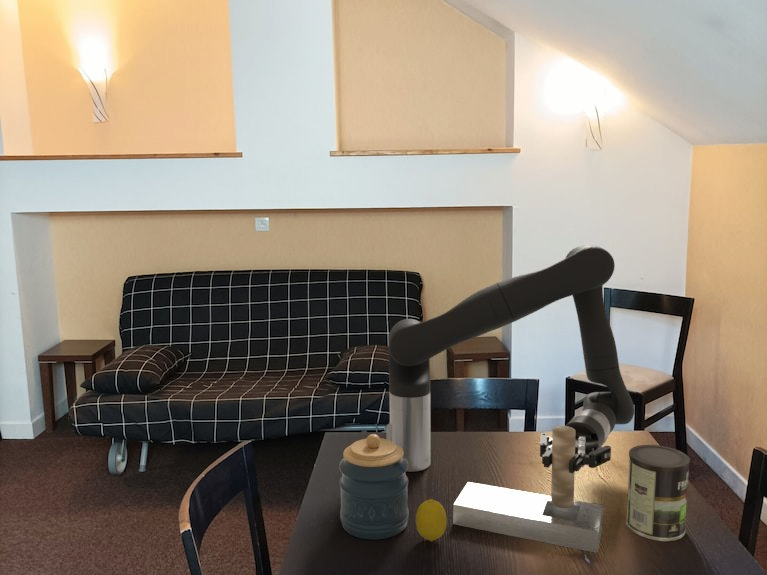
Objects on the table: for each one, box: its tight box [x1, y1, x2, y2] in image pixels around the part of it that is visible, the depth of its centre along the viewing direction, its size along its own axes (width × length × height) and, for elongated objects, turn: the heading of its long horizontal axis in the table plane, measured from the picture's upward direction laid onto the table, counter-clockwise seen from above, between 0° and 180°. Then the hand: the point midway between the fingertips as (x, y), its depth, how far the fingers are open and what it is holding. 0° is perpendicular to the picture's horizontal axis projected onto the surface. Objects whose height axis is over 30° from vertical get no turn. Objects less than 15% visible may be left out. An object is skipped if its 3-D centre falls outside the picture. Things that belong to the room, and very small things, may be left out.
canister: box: [338, 433, 410, 541], centre depth 123 cm, size 13×13×18 cm
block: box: [452, 481, 605, 554], centre depth 122 cm, size 26×10×4 cm, turn 67°
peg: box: [550, 425, 576, 508], centre depth 118 cm, size 4×4×14 cm
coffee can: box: [625, 444, 691, 542], centre depth 120 cm, size 10×10×14 cm
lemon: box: [415, 498, 448, 542], centre depth 117 cm, size 6×6×8 cm
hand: (558, 465), depth 116 cm, fingers closed on peg, 4 cm apart
